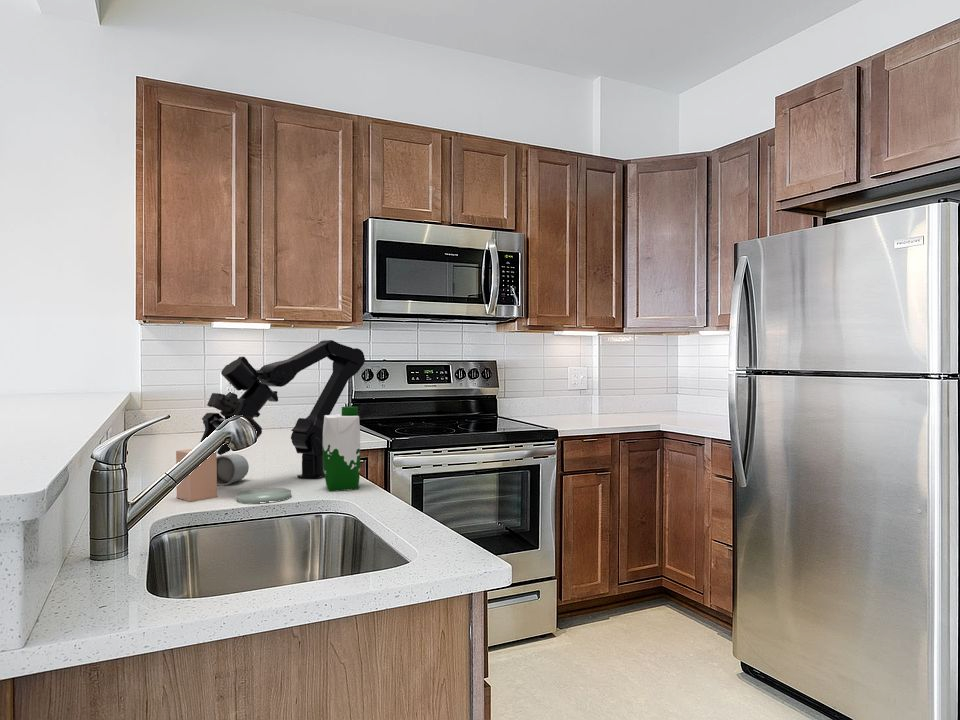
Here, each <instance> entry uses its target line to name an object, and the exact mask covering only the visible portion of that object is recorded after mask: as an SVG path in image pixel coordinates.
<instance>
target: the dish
mask: <svg viewBox="0 0 960 720" xmlns="http://www.w3.org/2000/svg"><path fill="white" fill-rule="evenodd" d="M235 497H236V500H237V501H238V502H237V501H236V500H235V501H236V502H237V503H239V502H242V503H241V504H245V503H260V502H269V501H279V500H283V499H286V500H288V499H287V498H289V497H290V498H292V490H291V489H289V488H285V487H284V488H283V487H261V488H252V489H246V490H243V491H240V492H238V493H236V495H235ZM290 498H289V499H290ZM283 501H284V500H283ZM279 502H280V501H279Z"/></svg>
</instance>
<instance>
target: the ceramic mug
mask: <svg viewBox="0 0 960 720" xmlns="http://www.w3.org/2000/svg"><path fill="white" fill-rule="evenodd" d="M249 468H250V465H249V462H248V460H247V459H246V458H245V456H243V455H241V454H237V453H232V454H231V453H230V454H222V455H219V456H217V486H220V485H221V486H224V485H225V486H228V485H231V484H234V483H237V482H239V481H241V480H242V479H244V478H245V477H246V476H247V474H248V473H249ZM221 486H220V487H221Z"/></svg>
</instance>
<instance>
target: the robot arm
mask: <svg viewBox="0 0 960 720" xmlns="http://www.w3.org/2000/svg"><path fill="white" fill-rule="evenodd" d="M364 354H365V353H364V352H363V350H361V349H360V348H358V347H356V348H355V347H354V348H353V347H351V346H347V345H345V344H342V343H340V342H337V341H334V340H333V339H326V340H321V341H319V342H318V343H316V344H315V345H313V346H311V347H309V348H307V349H306V350H303V351H301V352H299V353H297V354H295V355H293V356H292V357H290V358H287V359H283V360H279V361H275V362H271V363H268V364H264V365H263V366H261V367H260V369H255V367H253V366H252V364H251V363H250V362H249V360H248V358H246V356H238V358H237V359H235V360H233V361H231V362H230V363H229V364H226V365H225V366H224V367H223V368H222V370H221V376H222V377H224V379H225V380H226V381H227V382H228V383H230V385H231V386H232V387H233V388H234V389H235V390H236V391H243V393H242V394H241V395H240V397H239V398H238V394H236V393H234V392H228V393H226V394H225V393H218V392H215V393H214V392H212V393H211V395H210V396H209V400H208V401H207V404H206V406H207V407H209V408H215V409H216V410H219V411H220V412H219V413H218V412H205V415H203V417H202V418H201V420H202V423H203V425H204V432H203V434H202V436H201V438H200V442H202V441H203V440H204V439H205V438H206V437H208V436H209V435H210V434H211V433H212V432H213V431H214V430H215V429H216V428H217V427H218V426H219V425H220V424H221V423H222V422H223V421H224V420H226V419H228V418H230V417H232V416H234V415H243V416H245V417H246V418H248V419H249V420H250V421H251V422H252V424H253V425H254V427H255V429H256V431H257V439H256V440H258V439H259V438H260V436H261V435H262V434H263V428H262V426H260V424H259V423H258V422H257V421H256V420H255V419H254V418H259V417H260V416H261V413H260V411H261V409H262V408H263V407H264V405H266V403H268V402H273V403H275V402H276V403H277V402H278V401H279V397H278V391H277V390H272V389H271V388H270V387H279V388H280V387H281V388H282V387H284V386H286V385H288V384H289V383H290V382H291V381H292V380H294V379H295V377H296V376H297V374H299V373H300V372H301V371H303V370H305V369H307V368H309V367H310V366H312V365H315V364H316V363H318V362H319V361H322V360H323V359H325V358H327V359H329V360H330V361H332V372H331V375H330V377H329V378H328V381H327V382H326V384H325V386H324V388H323V389H322V392H321V393H320V395H319V397H318V399H317V400H316V403H315V404H314V406H313V407H312V410H311V411H310V413H309V414H308V416H307V417H305V418H302V417H299V418H298V419H297V420H296V423H295V425H294V427H293V428H292V429H291V430H290V431H291V432H292V433H291V435H290V440H291V443H292V445H293V446H294V447H295V450H296V454H301V474H297V476H296V477H297V478H299V479H300V478H303V479H320V478H322V477H325V475H324V470H323V425H324V415H331V414H332V412H333V410H334V408H335V406H336V404H337V403H338V400H339V399H340V396H341V395H342V393H343V391H344V389H345V387H346V385H347V383H348V381H349V380H350V379H351V378H353V377H354V376H355V375H357V373H359V371H361V369H362V367H363V366H364V365H365V361H366V358H365V355H364ZM200 442H199V443H200ZM221 445H222V444H221ZM221 445H220V446H221ZM229 451H231V450H230V448H229V447H228V445H227V444H224V445H222V446H221V447H219V448H218V450H216V454H218V455H219V456H222V455H225V454H226V453H228V452H229Z"/></svg>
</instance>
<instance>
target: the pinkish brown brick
mask: <svg viewBox="0 0 960 720" xmlns="http://www.w3.org/2000/svg"><path fill="white" fill-rule="evenodd" d="M192 449H193V448H192ZM192 449H191V448H190V449H182V450H176V451H175V460H176V462H175V465H176V464H177V463H178V462H180V461H181V460H182V459H183V458H184V457H185V456H186V455H187V454H188V453H189V452H190V451H192ZM217 457H218V456H217V451H216V452H215V453H213V454H212V455H211V456H210V457H209V458H208V459H206V460H205V461H204V462H203V463H202V464H201V465H200V466H198V467H197V468H196V469H195V470H194V471H193V472H192V473H191V474H190V475H188V476H187V477H186V478H185V479H184V480H183V481H182V482H181V483H180V484H179V485H178V486H177V485H176V499H178V498H180V499H179V500H182V499H184V500H183V501H186V500H188V501H187V502H189V501H192V502H195V501H194V500H197V501H202V500H201V499H203V500H207V499H212V498H217V497H218V485H217Z"/></svg>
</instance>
